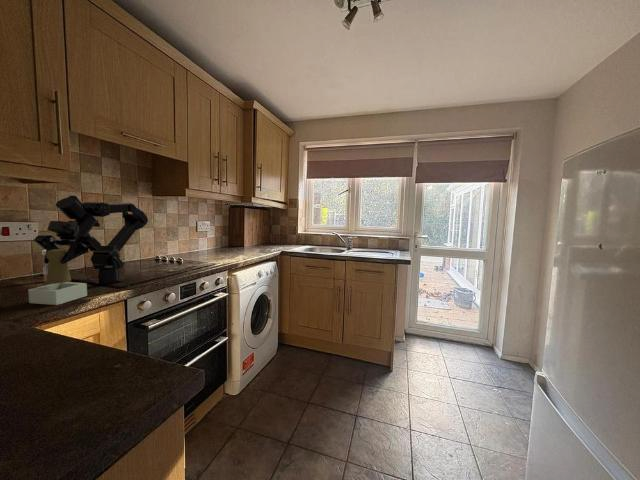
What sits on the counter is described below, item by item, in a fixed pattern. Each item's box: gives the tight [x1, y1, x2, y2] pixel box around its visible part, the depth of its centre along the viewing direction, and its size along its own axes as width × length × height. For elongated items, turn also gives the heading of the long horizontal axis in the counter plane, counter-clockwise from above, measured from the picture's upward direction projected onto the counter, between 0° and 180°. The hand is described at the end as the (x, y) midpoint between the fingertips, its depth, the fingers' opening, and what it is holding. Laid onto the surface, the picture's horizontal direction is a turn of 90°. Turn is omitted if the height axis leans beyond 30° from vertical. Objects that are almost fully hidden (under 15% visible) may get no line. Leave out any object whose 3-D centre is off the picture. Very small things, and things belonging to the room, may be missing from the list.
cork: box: [45, 248, 72, 285], centre depth 89 cm, size 6×6×11 cm
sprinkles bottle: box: [41, 249, 48, 283], centre depth 111 cm, size 5×5×14 cm
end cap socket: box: [27, 281, 88, 306], centre depth 90 cm, size 10×10×4 cm
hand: (53, 263), depth 88 cm, fingers closed on cork, 5 cm apart
